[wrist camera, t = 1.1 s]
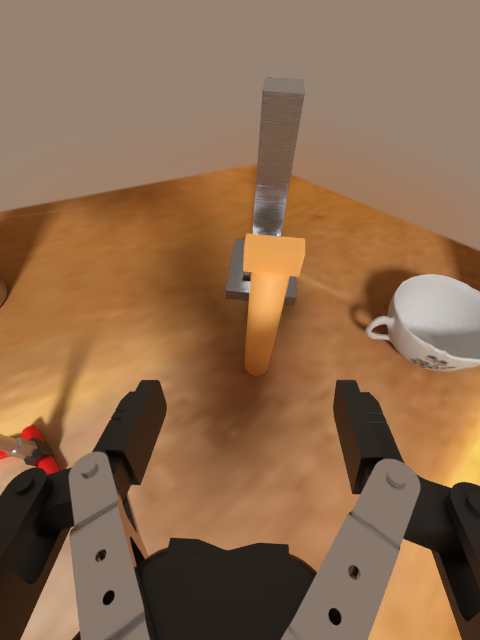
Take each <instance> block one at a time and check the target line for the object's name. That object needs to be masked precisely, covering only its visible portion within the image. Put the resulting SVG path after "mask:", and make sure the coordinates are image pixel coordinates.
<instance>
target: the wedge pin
mask: <svg viewBox="0 0 480 640" xmlns="http://www.w3.org/2000/svg"><path fill="white" fill-rule="evenodd" d="M304 256H305V239H302V238H291V237H280V236H269V235H258V234H247V233H246V239H245V245H244V261H243V271H246V272H251V279H250V293H249V306H248V320H247V333H246V346H245V360H244V367H245V369H246V371H247V372H248V373H249V374H251V375H253V376H261V375H263V374H265V373H266V372H267V370H268V368H269V364H270V359H271V355H272V351H273V346H274V342H275V338H276V334H277V329H278V325H279V321H280V316H281V312H282V308H283V304H284V299H285V295H286V291H287V286H288V282H289V278H290V276H297V277H299V275H300V271H301V267H302V264H303V260H304Z"/></svg>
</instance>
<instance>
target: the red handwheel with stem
mask: <svg viewBox="0 0 480 640" xmlns="http://www.w3.org/2000/svg"><path fill="white" fill-rule="evenodd" d="M10 456H12V457H17V458H21V459H24V461H25V463H26V464H27V465H32V466H37V467H36V468H42V469H44V470H45V471H46V473H47V474H51V473H55V472H58V471H60V470H59V468H58V466H57V464H56V462H55V460H54V459H53V454H52V452H51V450H50V449H49V447H48V445H47V443H46V441H44V440H43V438H42V436H41V434H40V432H39V431H38V429H37V427H36V426H35V425H32V426H29V427H27V428H25V429H24V430H23V431H22V435H21V436H20V437H16V438H11V437H8V436H5V435H2V434H0V459H2V458H6V457H10Z"/></svg>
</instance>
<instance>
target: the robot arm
mask: <svg viewBox="0 0 480 640" xmlns="http://www.w3.org/2000/svg"><path fill="white" fill-rule="evenodd" d="M6 296H7V286H6V284H5V283H4V282H3V281H2V280H1V279H0V306H1V305H2V303H3V302H4V300H5V299H6ZM166 410H167V405H166V400H165V397H164V394H163V391H162V388H161V384H160V382H159V381H158V380H142V381H141V382H140V383H139V385H138V387H137V389H136V391H135V392H129V393H128V394H127V395H126V396H125V397H124V398H123V399H122V400H121V401H120V403H119V405H118V407H117V408H116V412H114V414H113V416H112V417H111V420H110V421H109V423H108V425H107V426H106V428H105V430H104V432H103V434H102V436H101V437H100V439H99V441H98V443H97V445H96V446H95V448H94V450H93V451H92V453H89V454H86V455H85V456H83V457H82V458H80V459H79V460H78V461H77V462H76V463H75V464H74V465H73V467H72V468H69V469H65V470H62V471H58V472H55V473H51V474H47V473H46V471H45V470H44V469H42V468H31V469H28V470H26V471H24V472H22V473H20V474H19V475H17V476H16V477H15V478H14V479H13V480H12V481H11V482H10V483H9V484H8V485H7V487H6V488H5V490H4V491H3V493H2V494H1V496H0V640H20V639H21V637H22V634H23V632H24V630H25V628H26V626H27V623H28V621H29V619H30V617H31V614H32V612H33V610H34V608H35V606H36V603H37V601H38V599H39V597H40V595H41V592H42V590H43V588H44V586H45V583H46V581H47V579H48V577H49V575H50V572H51V570H52V568H53V566H54V563H55V561H56V559H57V557H58V555H59V552H60V550H61V548H62V546H63V543H64V541H65V539H66V537H67V535H68V532H69V530H70V528H71V527H73V526H74V529H72V530H71V531H70V545H71V554H72V563H73V572H74V581H75V590H76V599H77V608H78V617H79V626H80V631H79V632H78V633H77V634H76V636H75V637H74V638H73V639H72V640H368V637H369V635H370V632H371V629H372V626H373V623H374V621H375V618H376V615H377V612H378V609H379V607H380V604H381V601H382V598H383V596H384V593H385V590H386V587H387V584H388V582H389V579H390V576H391V573H392V571H393V568H394V565H395V562H396V559H397V557H398V554H399V550H400V545H401V542H402V539H406V540H408V541H411V542H413V543H416V544H418V545H421V546H423V547H426V548H428V549H431V551H432V554H433V556H434V559H435V562H436V565H437V568H438V571H439V574H440V577H441V580H442V583H443V586H444V589H445V591H446V594H447V597H448V600H449V603H450V606H451V609H452V612H453V615H454V618H455V621H456V623H457V626H458V629H459V632H460V635H461V638H462V640H480V486H478V485H475V484H472V483H467V482H461V483H457V484H455V485H454V486H453V487H452V488H449V487H446V486H443V485H440V484H437V483H434V482H431V481H428V480H425V479H423V478H421V477H420V476H418V475H416V474H415V472H414V471H413V470H412V469H411V468H410V467H409V466H407V465H406V464H405V463H404V461H403V459H402V457H401V455H400V453H399V450H398V448H397V445H396V443H395V441H394V438H393V436H392V433H391V431H390V429H389V426H388V424H387V421H386V419H385V417H384V415H383V412H382V409H381V407H380V405H379V402H378V401H377V400H376V399H375V398H374V397H373V396H372V395H371V394H370V393H369V392H360V390H359V387H358V385H357V382H356V381H355V380H337V381H336V388H335V396H334V404H333V411H334V418H335V423H336V427H337V431H338V435H339V440H340V444H341V448H342V452H343V456H344V460H345V465H346V469H347V473H348V477H349V481H350V486H351V490H352V494H360V496H359V498H358V500H357V502H356V504H355V506H354V508H353V510H352V511H351V512H350V513H349V514H348V515H347V517H346V519H345V520H344V522H343V524H342V526H341V528H340V530H339V532H338V534H337V536H336V538H335V540H334V542H333V543H332V545H331V547H330V549H329V551H328V553H327V555H326V557H325V559H324V561H323V563H322V565H321V567H320V568H319V570H318V572H316V571H315V570H314V569H313V568H312V567H311V566H310V565H309V564H307V563H306V562H305V561H303V560H302V559H300V558H298V557H296V556H294V555H291V554H289V547H288V545H287V544H270V543H256V544H252V545H248V546H244V547H240V548H236V549H233V550H224V549H221V548H219V547H216V546H214V545H211V544H209V543H206V542H204V541H201V540H199V539H183V538H170V542H169V546H168V547H167V548H164V549H162V550H159V551H157V552H155V553H154V554H152V555H150V556H149V557H148V554H147V551H146V549H145V546H144V544H143V542H142V539H141V536H140V533H139V530H138V526H137V523H136V520H135V516H134V513H133V509H132V506H131V503H130V499H129V496H128V494H127V493H128V491H129V488H130V486H131V485H141V482H142V479H143V476H144V474H145V471H146V468H147V465H148V463H149V460H150V457H151V454H152V452H153V449H154V446H155V443H156V441H157V438H158V435H159V432H160V430H161V427H162V424H163V421H164V419H165V416H166Z"/></svg>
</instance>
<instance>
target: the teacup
mask: <svg viewBox="0 0 480 640" xmlns="http://www.w3.org/2000/svg"><path fill="white" fill-rule="evenodd" d="M382 324H386V325H387V329H388V334H387V335H386V334H383V335H382V334H376V333H373V332H372V329H373V328H374V327H376V326H378V325H382ZM365 331H366V334H367V336H369V337H370V338H372V339H384V340H388V341H390V342H391V343H392V344H393V346H394V347H395V349H396V350H397V351H398V352H399V354H401V355H402V356H403V357H404V358H405V359H406V360H408V361H409V362H411V363H413V364H415V365H417V366H419V367H422V368H425V369H430V370H435V371H460V370H465V369H469V368H473V367H476V366H479V365H480V292H479V291H478V290H476V289H473V288H471V287H470V286H469V285H467V284H465V283H463V282H461V281H458V280H456V279H453V278H450V277H447V276H443V275H433V274H427V275H419V276H415V277H411V278H409V279H407V280H406V281H404V282H402V283H401V284H400V286H399V287H398V288H397V290H396V291H395V293H394V295H393V297H392V299H391V302H390V305H389V308H388V312H387V316H380V317H377V318H376V319H374V320H373V321H372V322H370V323H369V325H368V326H367V327H366V329H365Z"/></svg>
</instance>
